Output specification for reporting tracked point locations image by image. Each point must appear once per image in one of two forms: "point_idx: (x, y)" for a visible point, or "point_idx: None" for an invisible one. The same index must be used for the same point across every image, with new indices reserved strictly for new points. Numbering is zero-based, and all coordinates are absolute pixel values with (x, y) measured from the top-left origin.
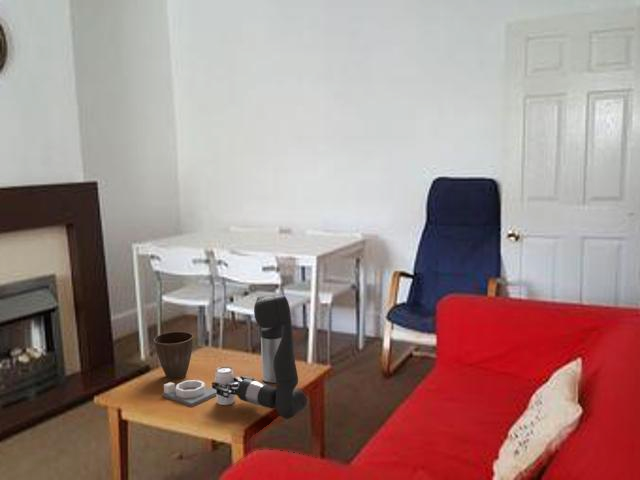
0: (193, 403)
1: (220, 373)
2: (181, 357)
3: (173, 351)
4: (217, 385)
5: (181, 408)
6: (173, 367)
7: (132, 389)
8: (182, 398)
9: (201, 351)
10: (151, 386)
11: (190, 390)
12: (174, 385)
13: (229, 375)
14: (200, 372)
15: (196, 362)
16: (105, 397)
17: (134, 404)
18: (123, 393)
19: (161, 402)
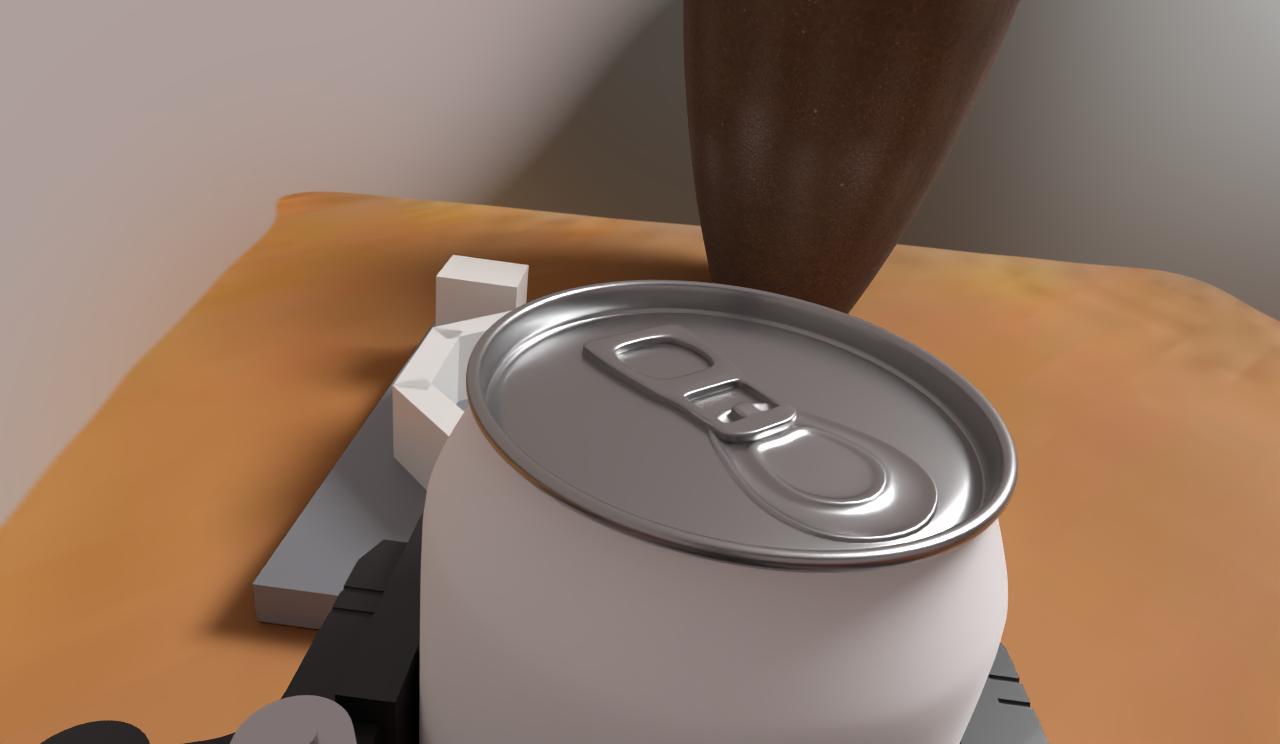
0: (286, 599)
1: (474, 424)
2: (794, 135)
3: (739, 46)
4: (333, 675)
5: (177, 555)
6: (725, 201)
7: (466, 232)
8: (374, 454)
9: (1127, 272)
10: (558, 268)
11: (443, 422)
12: (513, 305)
13: (671, 702)
14: (956, 357)
15: (1021, 298)
16: (305, 198)
17: (223, 290)
18: (391, 224)
19: (306, 379)
